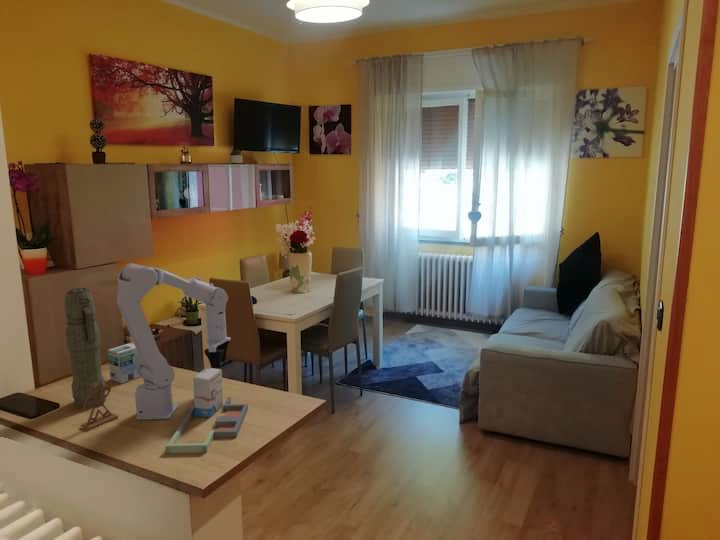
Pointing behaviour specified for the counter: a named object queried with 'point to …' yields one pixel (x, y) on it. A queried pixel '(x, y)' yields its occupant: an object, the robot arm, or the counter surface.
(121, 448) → the counter surface
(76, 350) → the grey stone statue
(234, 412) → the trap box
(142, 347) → the robot arm
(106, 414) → the wooden stand
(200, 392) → the ink box
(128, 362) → the light bulb box
